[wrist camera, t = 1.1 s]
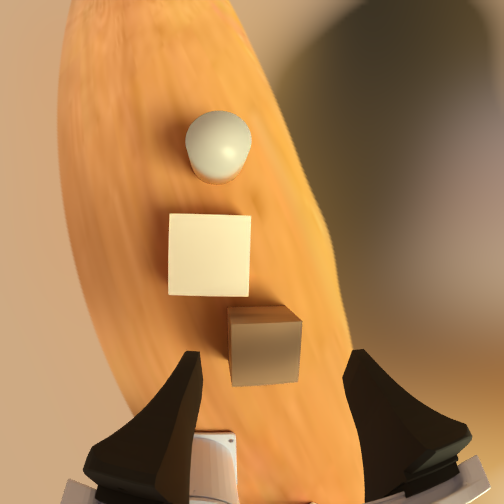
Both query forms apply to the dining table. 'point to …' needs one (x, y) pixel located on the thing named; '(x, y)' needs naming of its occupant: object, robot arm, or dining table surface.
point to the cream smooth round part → (218, 146)
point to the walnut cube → (263, 345)
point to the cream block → (209, 255)
